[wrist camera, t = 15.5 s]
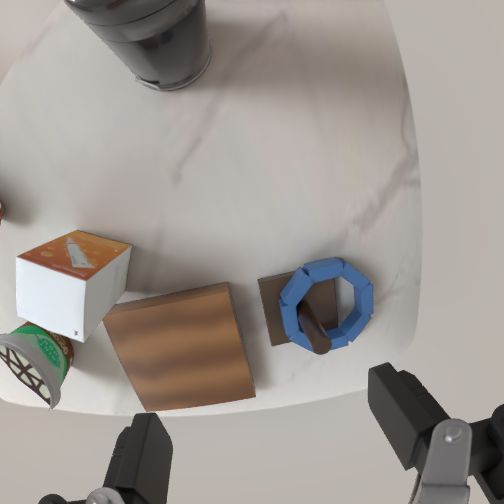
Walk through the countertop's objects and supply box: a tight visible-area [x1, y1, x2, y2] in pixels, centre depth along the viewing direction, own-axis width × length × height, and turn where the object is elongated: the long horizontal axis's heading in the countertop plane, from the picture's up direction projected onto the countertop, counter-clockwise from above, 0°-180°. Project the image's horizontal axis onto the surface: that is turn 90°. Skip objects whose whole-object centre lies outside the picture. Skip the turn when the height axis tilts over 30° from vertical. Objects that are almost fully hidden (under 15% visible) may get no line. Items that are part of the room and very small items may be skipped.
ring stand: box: [258, 269, 338, 355], centre depth 33 cm, size 9×9×10 cm
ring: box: [279, 257, 373, 353], centre depth 35 cm, size 11×11×2 cm
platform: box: [102, 282, 256, 412], centre depth 36 cm, size 16×16×3 cm
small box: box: [16, 230, 132, 343], centre depth 28 cm, size 8×6×13 cm
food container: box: [0, 321, 74, 410], centre depth 31 cm, size 12×6×10 cm, turn 43°
